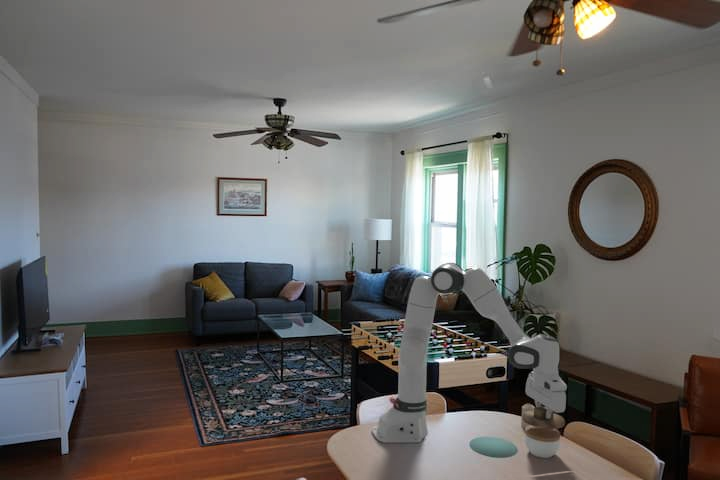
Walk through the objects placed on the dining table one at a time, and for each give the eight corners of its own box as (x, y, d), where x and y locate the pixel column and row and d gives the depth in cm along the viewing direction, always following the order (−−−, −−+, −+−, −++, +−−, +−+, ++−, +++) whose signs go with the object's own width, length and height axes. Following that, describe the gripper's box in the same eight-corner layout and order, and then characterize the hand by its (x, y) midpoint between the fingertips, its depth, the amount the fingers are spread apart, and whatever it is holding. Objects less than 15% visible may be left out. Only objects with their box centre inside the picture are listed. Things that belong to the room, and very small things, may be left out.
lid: (537, 430, 199) (538, 418, 198) (514, 414, 213) (515, 403, 213) (573, 426, 203) (574, 414, 203) (548, 411, 217) (549, 400, 217)
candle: (535, 431, 230) (536, 407, 229) (521, 429, 231) (522, 406, 231) (534, 426, 236) (535, 402, 235) (520, 424, 237) (521, 401, 236)
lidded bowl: (559, 465, 201) (561, 435, 200) (523, 459, 205) (524, 430, 204) (558, 450, 213) (560, 422, 212) (524, 445, 217) (525, 417, 216)
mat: (483, 461, 202) (483, 459, 202) (461, 440, 220) (461, 438, 220) (527, 456, 207) (527, 454, 207) (502, 436, 225) (502, 434, 224)
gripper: (522, 370, 216) (520, 405, 217) (554, 388, 196) (552, 426, 197) (536, 369, 218) (534, 404, 219) (570, 387, 198) (567, 425, 199)
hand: (543, 415), depth 208 cm, fingers closed on lid, 3 cm apart
